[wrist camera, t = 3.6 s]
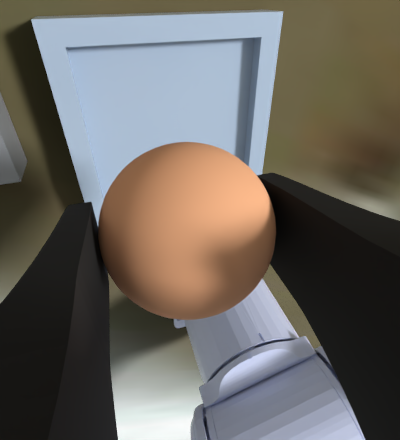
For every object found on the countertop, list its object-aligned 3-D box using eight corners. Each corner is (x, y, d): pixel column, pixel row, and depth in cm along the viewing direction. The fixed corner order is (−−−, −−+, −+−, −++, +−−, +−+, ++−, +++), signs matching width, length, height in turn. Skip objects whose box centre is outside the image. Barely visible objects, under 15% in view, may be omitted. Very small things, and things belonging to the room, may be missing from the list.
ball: (229, 228, 13) (293, 328, 9) (109, 253, 12) (124, 380, 8) (239, 108, 10) (339, 184, 6) (77, 126, 9) (76, 234, 5)
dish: (247, 190, 22) (258, 203, 21) (93, 218, 20) (94, 235, 18) (265, 9, 16) (283, 11, 14) (36, 16, 13) (31, 19, 12)
